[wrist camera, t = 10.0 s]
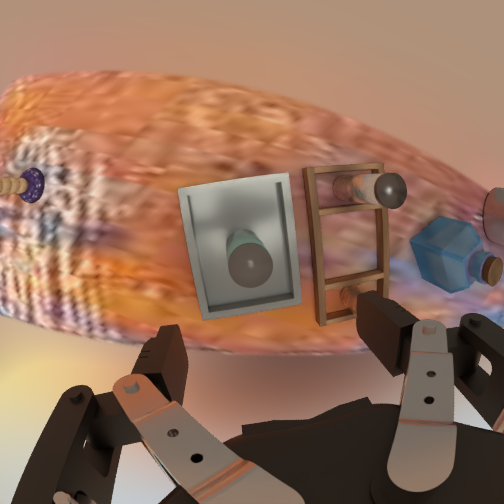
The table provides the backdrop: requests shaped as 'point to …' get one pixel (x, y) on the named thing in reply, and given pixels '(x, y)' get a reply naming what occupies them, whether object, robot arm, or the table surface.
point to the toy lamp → (24, 185)
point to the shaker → (248, 259)
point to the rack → (317, 248)
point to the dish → (228, 221)
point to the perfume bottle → (454, 256)
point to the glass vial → (372, 189)
